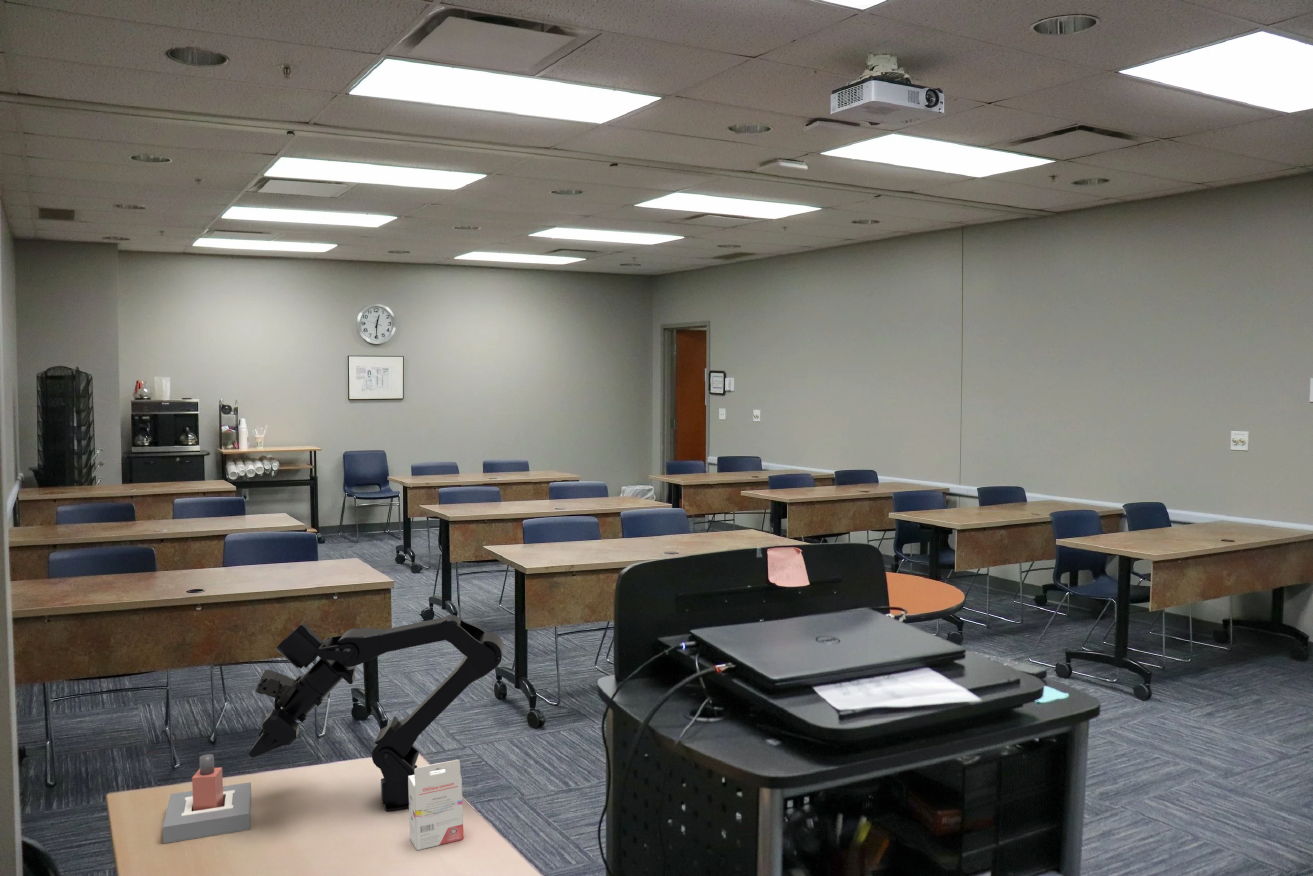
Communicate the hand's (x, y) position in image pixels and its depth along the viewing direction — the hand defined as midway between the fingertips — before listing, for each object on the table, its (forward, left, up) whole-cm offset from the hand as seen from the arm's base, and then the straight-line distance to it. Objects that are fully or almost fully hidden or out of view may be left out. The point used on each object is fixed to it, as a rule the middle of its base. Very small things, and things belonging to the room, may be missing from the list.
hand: (255, 746), depth 181 cm
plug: (+8, 0, -13) cm, 15 cm away
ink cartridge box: (-30, +23, -13) cm, 40 cm away
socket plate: (+8, 0, -13) cm, 15 cm away
